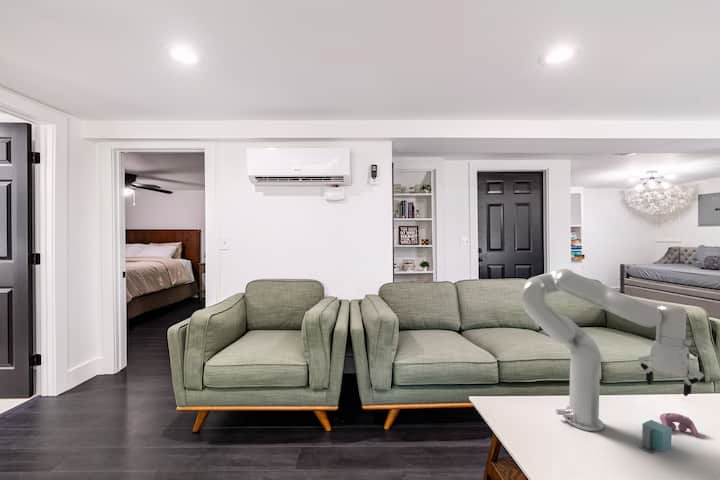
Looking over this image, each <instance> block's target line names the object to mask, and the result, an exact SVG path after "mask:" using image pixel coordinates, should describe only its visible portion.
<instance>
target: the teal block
mask: <svg viewBox="0 0 720 480" xmlns="http://www.w3.org/2000/svg"><path fill="white" fill-rule="evenodd" d="M644 427H648V428H651V429H653V448H656V449H657V451H660V452H661V453H662V452H665V451H667V450H669V449H671V448H672V438H673V437H672V436H673V435H672V434H673V432H672V431H673V430H672V428H670V427H668V426H665V425H663V424H662V423H660V422H658V421H655V420H653V419H649V420H648V421H645V422H643V423H642V428H641V431H642V432H641V433H642V434H641V443H643V428H644Z"/></svg>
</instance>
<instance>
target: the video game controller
mask: <svg viewBox="0 0 720 480" xmlns="http://www.w3.org/2000/svg"><path fill="white" fill-rule="evenodd" d="M659 419H660V422H661V424H663V425H665V426H668V427H670V428H672V431H673V430H674V431H675V430H676V429H677V428H678V430H679V431H681V432H687V430H688V429H689V431H690V433H691V434H692V435H693V437H695V438H698V437H699V432H698V429H697V427H696V426H695V424H694V422H693V420H692V419H690V418H689V417H687V416H685V415H683V414H679V413H673V412H669V413H667V412H666V413H662V414H660V415H659ZM675 423H678V425H677V426H676V424H675Z"/></svg>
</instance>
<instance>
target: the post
mask: <svg viewBox="0 0 720 480" xmlns="http://www.w3.org/2000/svg"><path fill="white" fill-rule="evenodd" d="M637 446H638V449H640V450H642V451H644V452H647V453H649V454H650V455H651V454H654V453H656V452H657V451H658V449H656V448H653V429H651V428H648V427H644V428H643V442H642V443H641V444H640V445H637Z"/></svg>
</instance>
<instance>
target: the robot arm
mask: <svg viewBox="0 0 720 480" xmlns="http://www.w3.org/2000/svg"><path fill="white" fill-rule="evenodd" d="M560 291H561V292H563V293H565V294H567V295H569V296H572V297H574V298H578V299H579V300H582V301H584V302H587V303H589V304H591V305H593V306H596V307H598V308H599V309H602V310H604V311H607V312H609V313H612V314H614V315H615V316H618V317H620V318H623V319H625V320H627V321H630V322H632V323H634V324H636V325H639V326H642V327H646V328H654V327H656V328H655V329H656V330H655V332H656V333H655V340H653V342H652V345H651V350H650V354H649V355H646V356H638V357H637V361H638V363H639V364H640V367H641V368H642V369H643V370H644V372H645V373H646V374H645V381H646V382H647V385H648V386H650V385H652V384H653V383H654V373H653V371H654V370H655V371H657V372H660V373H664V374H667V375H670V376H675V377H679V378H682V380H683V382H685V383H684V384H683V396H684V397H688V395H691V394H692V385H693V384H696V383H698V382H699V381H700V380H701V379H702V378H703V377H704V375H705V374H704V373H703V372H701V371H699V370H698V369H696V368H695V367H693V366H692V365H691V358H690V350H689V348H688V347H687V346H691V345H692V342H691V341H689V340H687V338H686V333H687V332H686V330H687V313H688V312H687V310H686V308H684V307H682V306H680V305H675V304H658V303H653V302H649V301H648V302H647V301H642V300H636V299H634V298H631V297H630V296H627V295H624V294H622V293H621V292H618V291H617V290H615V289H613V288H612V287H610V286H608V285H606V284H604V283H601V282H599V281H595V280H593V279H590V278H587V276H583V275H581V274H579V273H575V272H574V271H572V270H571V269H568V268H561V269H558V270H553V271H549V272H546V273H543V274H539V275H536V276H531V277H530V278H528V279H527V280H526V281H525V283H524V285H523V287H522V290H521V296H520V302H521V305H522V308H523V310H524V312H525V313H526V314H527V315H528V316H529V317H530V318H531V319H532V320H533V321H534V322H535V323H536V324H537V325H538V326H539V327H540V328H541V329H542V330H543V331H544V332H545V333H546V334H547V335H548V336H549V337H550V338H551V339H552V340H553V341H555V342H556V343H559V344H562V345H564V346H565V347H566V349H568V350H569V354H570V355H569V356H570V364H569V397H568V398H569V401H568V403H569V404H568V405H569V406H568V405H567V406H566V408H564V409H560V408H559V409H558V408H557V409H555V413H556V415H558V416H559V415H560V416H561V415H562V418H563V419H565V421H566V422H567V423H568V424H570V425H571V426H572V427H573V426H574V427H575V428H578V429H580V430H584V431H588V432H599V431H602V430H604V422H603V421H602V420H600V419H599V416H600V414H599V413H600V379H601V378H600V377H601V376H600V375H601V367H602V366H601V365H602V354H601V352H600V349H599V347H598V346H597V343H596V342H595V341H594V339H592V338H591V337H590V336H589V335H588V333H586V332H585V331H584V330H583V329H582V328H581V327H580V326H579V325H578V324H577V323H575V322H574V321H573V320H572V319H571V318H569V317H567V316H565V315H563V314H559V313H558V312H556V310H555V309H554V308H552V306H550V305H549V304H548V303H547V302H546V300H545V297H546V295H549V294H553V293H557V292H560ZM645 361H648V364H647V363H646V362H645ZM691 373H692V374H694V377H693V378H691V376H690V374H691Z"/></svg>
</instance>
